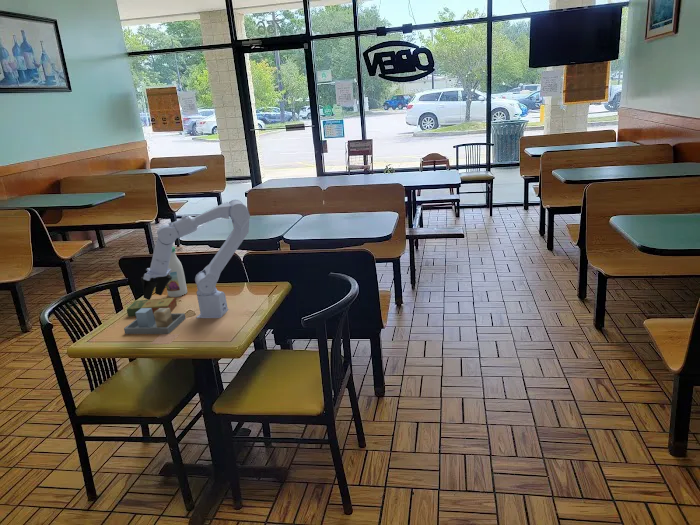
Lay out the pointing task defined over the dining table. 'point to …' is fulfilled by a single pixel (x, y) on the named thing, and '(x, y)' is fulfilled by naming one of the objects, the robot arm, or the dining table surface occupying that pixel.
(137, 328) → the parts tray
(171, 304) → the carton
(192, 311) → the dining table surface
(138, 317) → the slate block
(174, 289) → the milk bottle
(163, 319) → the oak block
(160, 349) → the dining table surface
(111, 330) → the dining table surface
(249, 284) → the dining table surface
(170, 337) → the terracotta pad
